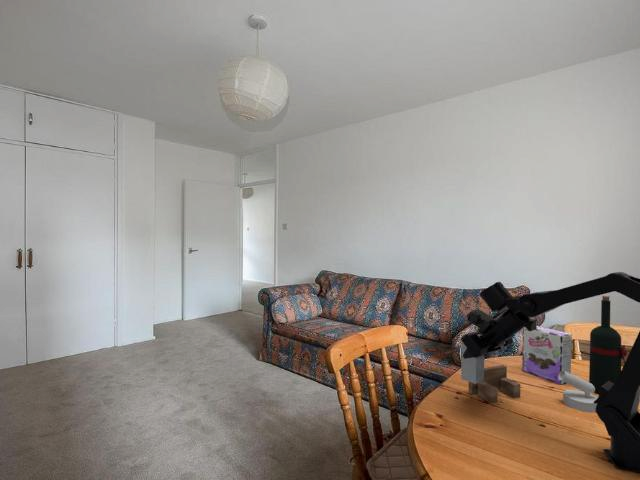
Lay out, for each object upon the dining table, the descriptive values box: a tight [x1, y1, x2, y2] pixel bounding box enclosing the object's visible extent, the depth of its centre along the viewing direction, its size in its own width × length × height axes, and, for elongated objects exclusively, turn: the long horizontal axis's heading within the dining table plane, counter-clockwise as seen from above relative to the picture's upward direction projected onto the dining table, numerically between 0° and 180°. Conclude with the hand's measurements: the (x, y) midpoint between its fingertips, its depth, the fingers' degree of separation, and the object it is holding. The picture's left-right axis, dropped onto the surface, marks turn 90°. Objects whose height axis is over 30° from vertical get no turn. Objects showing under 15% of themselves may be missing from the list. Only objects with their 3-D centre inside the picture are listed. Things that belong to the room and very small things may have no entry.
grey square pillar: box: [460, 332, 485, 384], centre depth 104 cm, size 4×4×13 cm
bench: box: [468, 364, 521, 404], centre depth 108 cm, size 8×14×7 cm, turn 110°
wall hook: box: [558, 370, 598, 413], centre depth 102 cm, size 9×10×10 cm
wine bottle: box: [588, 295, 628, 396], centre depth 110 cm, size 8×10×30 cm
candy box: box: [521, 325, 573, 385], centre depth 123 cm, size 14×6×16 cm, turn 25°
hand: (468, 355), depth 105 cm, fingers closed on grey square pillar, 4 cm apart
